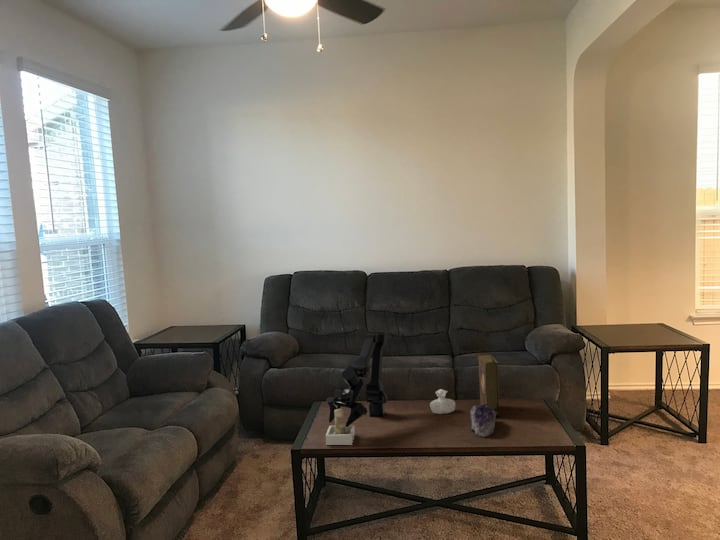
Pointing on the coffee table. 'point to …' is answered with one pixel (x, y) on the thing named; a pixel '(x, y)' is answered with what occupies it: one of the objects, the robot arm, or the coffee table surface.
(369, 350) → the robot arm
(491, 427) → the geode
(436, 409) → the white rounded necked piece
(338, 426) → the peg
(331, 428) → the bore box
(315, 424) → the coffee table surface
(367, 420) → the coffee table surface
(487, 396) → the book
